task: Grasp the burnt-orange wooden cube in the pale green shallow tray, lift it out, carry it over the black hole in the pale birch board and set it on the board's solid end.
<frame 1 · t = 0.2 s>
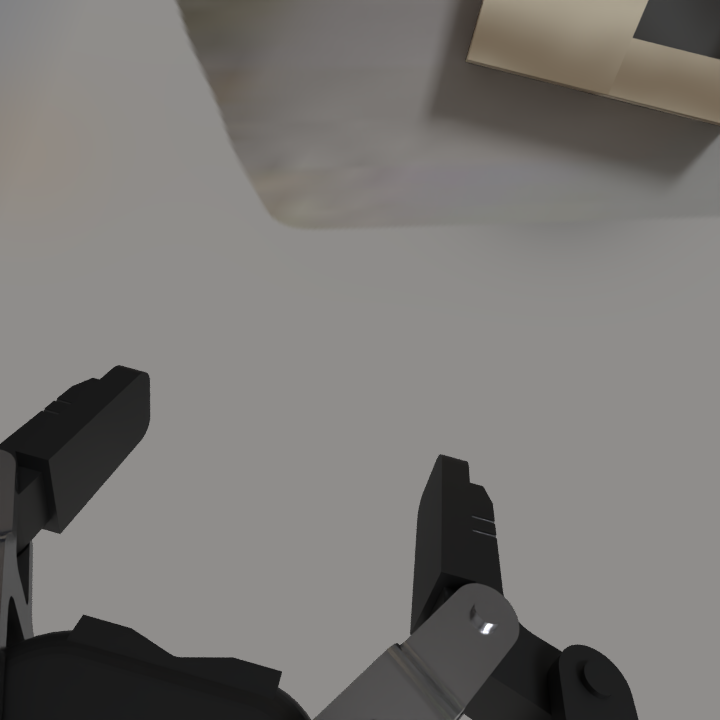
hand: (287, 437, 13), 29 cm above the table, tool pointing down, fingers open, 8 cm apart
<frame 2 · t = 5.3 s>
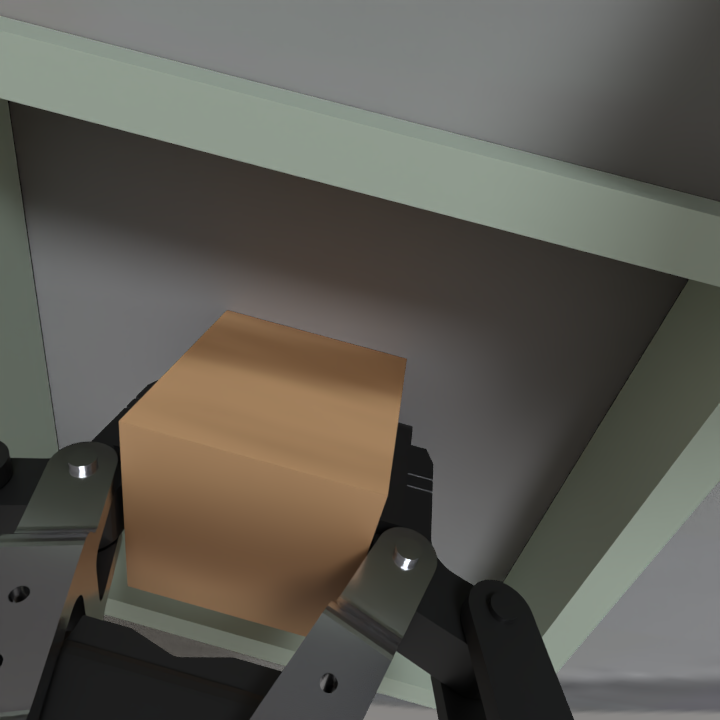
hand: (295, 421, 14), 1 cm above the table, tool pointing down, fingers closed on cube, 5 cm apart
cube: (276, 464, 12), in the pale green shallow tray, touching gripper
pale green shallow tray: (300, 407, 14), on the table
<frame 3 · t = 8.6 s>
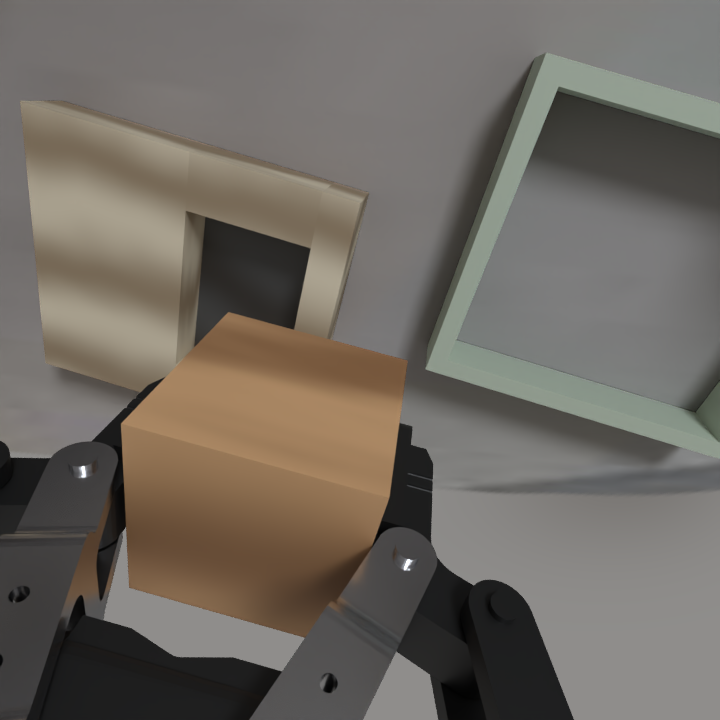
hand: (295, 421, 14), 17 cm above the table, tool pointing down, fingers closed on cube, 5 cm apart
cube: (278, 466, 12), point 19 cm above the table, touching gripper
hole board: (202, 278, 31), on the table
pale green shallow tray: (630, 270, 26), on the table
when the fingers open (5 cm above the table, at t = 11.8 s): cube drops 1 cm, resting on hole board.
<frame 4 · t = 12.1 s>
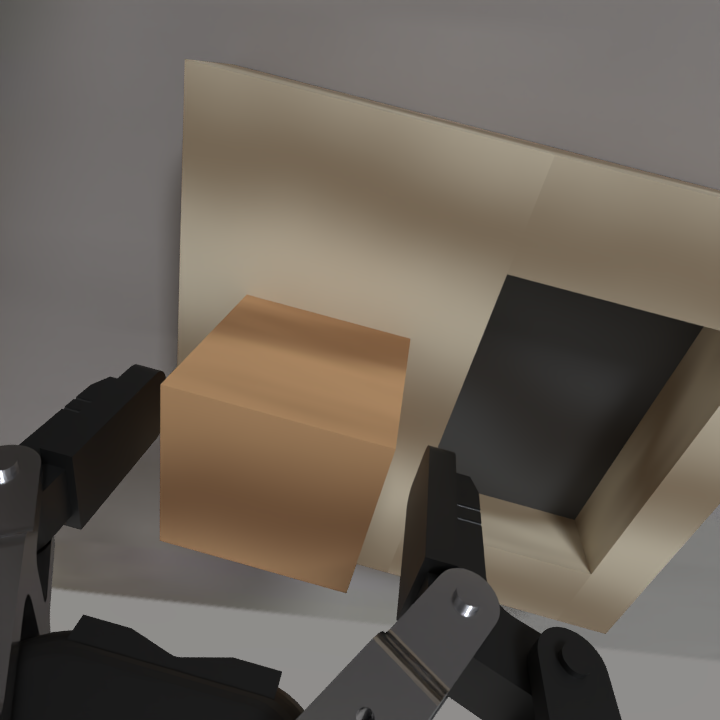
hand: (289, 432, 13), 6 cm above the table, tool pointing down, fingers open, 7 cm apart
cube: (293, 433, 13), on the hole board, point 6 cm above the table
hole board: (448, 371, 18), on the table
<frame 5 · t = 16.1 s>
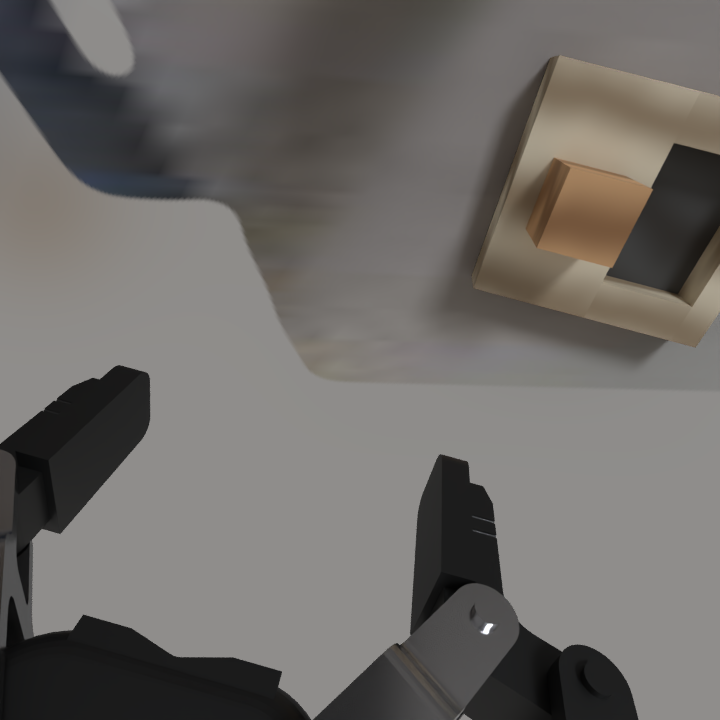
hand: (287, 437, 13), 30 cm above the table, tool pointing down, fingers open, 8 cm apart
cube: (582, 211, 32), on the hole board, point 6 cm above the table
hole board: (621, 208, 36), on the table
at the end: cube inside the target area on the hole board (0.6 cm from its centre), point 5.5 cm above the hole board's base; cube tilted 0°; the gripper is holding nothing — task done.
